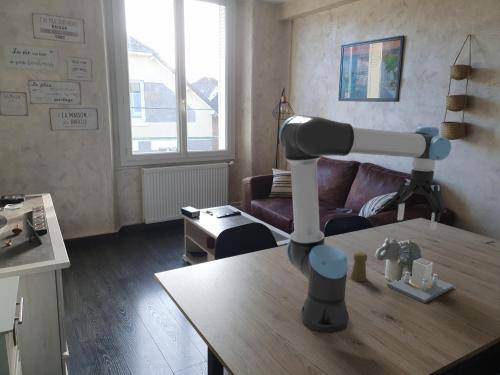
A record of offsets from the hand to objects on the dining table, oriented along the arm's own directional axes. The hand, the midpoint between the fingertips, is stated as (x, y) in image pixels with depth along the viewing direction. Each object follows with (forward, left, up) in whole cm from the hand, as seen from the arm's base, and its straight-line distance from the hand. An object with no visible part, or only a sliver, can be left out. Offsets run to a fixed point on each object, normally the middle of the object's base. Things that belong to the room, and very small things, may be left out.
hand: (415, 224), depth 141 cm
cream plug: (+1, -4, -23) cm, 23 cm away
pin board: (+1, -4, -24) cm, 25 cm away
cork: (-13, +14, -24) cm, 31 cm away
